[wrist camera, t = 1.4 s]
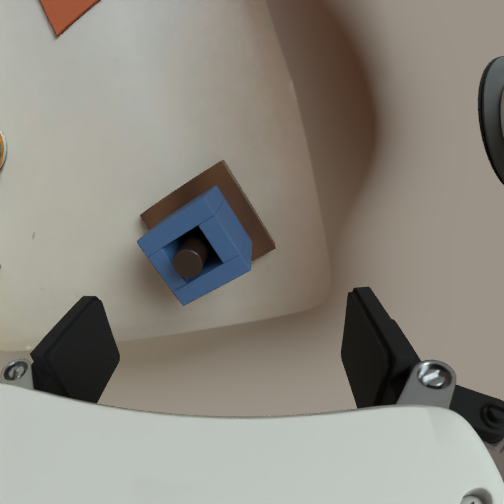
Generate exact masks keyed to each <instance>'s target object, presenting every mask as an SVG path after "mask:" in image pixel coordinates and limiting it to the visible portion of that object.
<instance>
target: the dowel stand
mask: <svg viewBox="0 0 504 504" xmlns="http://www.w3.org/2000/svg"><path fill="white" fill-rule="evenodd" d="M215 185H217V187H218V188H219V190H220V191H221V193H222V195H223V196H224V198H225V199H226V201H227V203H228V204H229V206H230V207H231V209H232V211H233V212H234V214H235V215H236V217H237V218H238V220H239V222H240V223H241V225H242V226H243V228H244V230H245V231H246V233H247V235H248V236H249V238H250V239H251V241H252V257H251V261H253V260H255V259H257V258H259V257H260V256H262V255H264V254H266V253H268V252H270V251H271V250H273V249H275V243H274V241H273V239H272V238H271V236H270V234H269V233H268V231H267V230H266V228H265V226H264V225H263V223H262V221H261V220H260V218H259V216H258V215H257V213H256V211H255V210H254V208H253V206H252V205H251V203H250V202H249V200H248V198H247V197H246V195H245V193H244V192H243V190H242V188H241V187H240V185H239V184H238V182H237V180H236V179H235V177H234V176H233V174H232V172H231V171H230V169H229V167H228V166H227V164H226V163H225V161H224V160H222V161H220V162H219V163H217V164H215V165H214V166H212V167H211V168H209V169H207V170H206V171H204V172H203V173H201V174H200V175H198V176H196V177H195V178H193V179H192V180H190V181H189V182H187V183H186V184H184V185H183V186H181V187H180V188H178V189H177V190H175V191H174V192H172V193H171V194H169V195H168V196H166V197H165V198H163V199H162V200H160V201H159V202H158V203H156V204H155V205H153V206H152V207H150V208H149V209H148V210H146V211H145V212H143V213H142V214H141V215H140V216H141V217H142V219H143V220H144V222H145V223H146V225H147V226H148V228H149V229H151V228H153V227H154V226H155V225H156V224H157V223H158V222H160V221H161V220H162V219H164V218H165V217H167V216H168V215H170V214H171V213H173V212H174V211H176V210H177V209H179V208H180V207H182V206H183V205H185V204H186V203H188V202H189V201H191V200H193V199H194V198H196V197H197V196H199V195H200V194H202V193H204V192H205V191H207V190H208V189H210V188H212V187H213V186H215ZM186 233H187V235H188V238H187V239H186V240H185V242H184V243H183V245H182V246H181V247H180V249H179V250H178V252H177V253H176V255H175V256H174V258H173V266H174V269H175V271H176V272H177V273H178V274H179V275H181V276H183V277H186V278H192V277H195V276H197V275H198V274H199V273H200V272H201V270H202V268H203V265H204V263H205V261H206V258H207V256H208V254H209V251H210V249H212V248H213V247H212V245H211V244H210V242H209V241H208V239H207V238H206V236H205V235H204V233H203V232H202V230H201V229H200V227H199V225H198V226H196V227H194V228H193V229H191V230H190V231H188V232H186Z"/></svg>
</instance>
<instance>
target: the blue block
mask: <svg viewBox="0 0 504 504" xmlns="http://www.w3.org/2000/svg"><path fill="white" fill-rule="evenodd" d="M198 225H199V227H200V229H201V230H202V232H203V233H204V235H205V236H206V238H207V239H208V241H209V242H210V244H211V245H212V247H213V248H212V249H210V251H209V254H208V256H207V258H206V261H205V263H204V265H203V268H202V270H201V272H200V273H199V274H198V275H197V276H195V277H192V278H186V277H183V276H181V275H179V274H178V273H177V272H176V271H175V269H174V266H173V258H174V256H175V255H176V253H177V252H178V250H179V249H180V247H181V246H182V245H183V243H184V242H185V240H186V239H187V238H188V235H187V233H186V232H188V231H190V230H191V229H193V228H194V227H196V226H198ZM137 243H138V245H139V246H140V248H141V249H142V250H143V252H144V253H145V255H146V256H147V257H148V259H149V260H150V261H151V263H152V264H153V266H154V267H155V268H156V270H157V271H158V273H159V274H160V275H161V277H162V278H163V280H164V281H165V282H166V284H167V285H168V286H169V288H170V289H171V290H172V291H173V293H174V294H175V296H176V297H177V298H178V300H179V301H180V302H181V304H182V305H183V306H184V305H186V304H188V303H190V302H192V301H194V300H195V299H197V298H199V297H201V296H203V295H205V294H207V293H209V292H211V291H213V290H214V289H216V288H218V287H220V286H222V285H224V284H226V283H228V282H230V281H231V280H233V279H235V278H237V277H239V276H241V275H243V274H245V273H246V272H248V271H250V270H251V257H252V241H251V239H250V238H249V236H248V235H247V233H246V231H245V230H244V228H243V226H242V225H241V223H240V222H239V220H238V218H237V217H236V215H235V214H234V212H233V211H232V209H231V207H230V206H229V204H228V203H227V201H226V199H225V198H224V196H223V195H222V193H221V191H220V190H219V188H218V187H217V185H215V186H213V187H212V188H210V189H208V190H207V191H205V192H204V193H202V194H200V195H199V196H197V197H196V198H194V199H193V200H191V201H189V202H188V203H186V204H185V205H183V206H182V207H180V208H179V209H177V210H176V211H174V212H173V213H171V214H170V215H168V216H167V217H165V218H164V219H162V220H161V221H160V222H158V223H157V224H156V225H155V226H154V227H153V228H151V229H150V230H149V231H148V232H147V233H146V234H144V235H143V236H142V237H141V238H140V239H139V240H138V241H137Z"/></svg>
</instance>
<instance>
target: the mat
mask: <svg viewBox="0 0 504 504" xmlns="http://www.w3.org/2000/svg"><path fill="white" fill-rule="evenodd" d="M40 1H41V3H42V6H43V8H44V10H45V12H46V14H47V16H48V18H49V20H50V22H51V24H52V27H53V29H54V31H55V33H56V35H57V36H59V35H60V34H61V33H62V32H63V31H65V30H66V29H67V28H68V27H69V26H70V25H71V24H72V23H73V22H74V21H76V20H77V19H78V18H79V17H80V16H81V15H83V14H84V13H85V12H86V11H87V10H89V9H90V8H91V7H92V6H93V5H95V4H96V3H97V2H99V1H100V0H40Z"/></svg>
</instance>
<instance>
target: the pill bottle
mask: <svg viewBox="0 0 504 504" xmlns="http://www.w3.org/2000/svg"><path fill="white" fill-rule="evenodd" d="M6 151H7V147H6V139H5V137H4V134H3V133H2V131H0V168H1V167H2V165H3V163H4V161H5V157H6Z"/></svg>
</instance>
